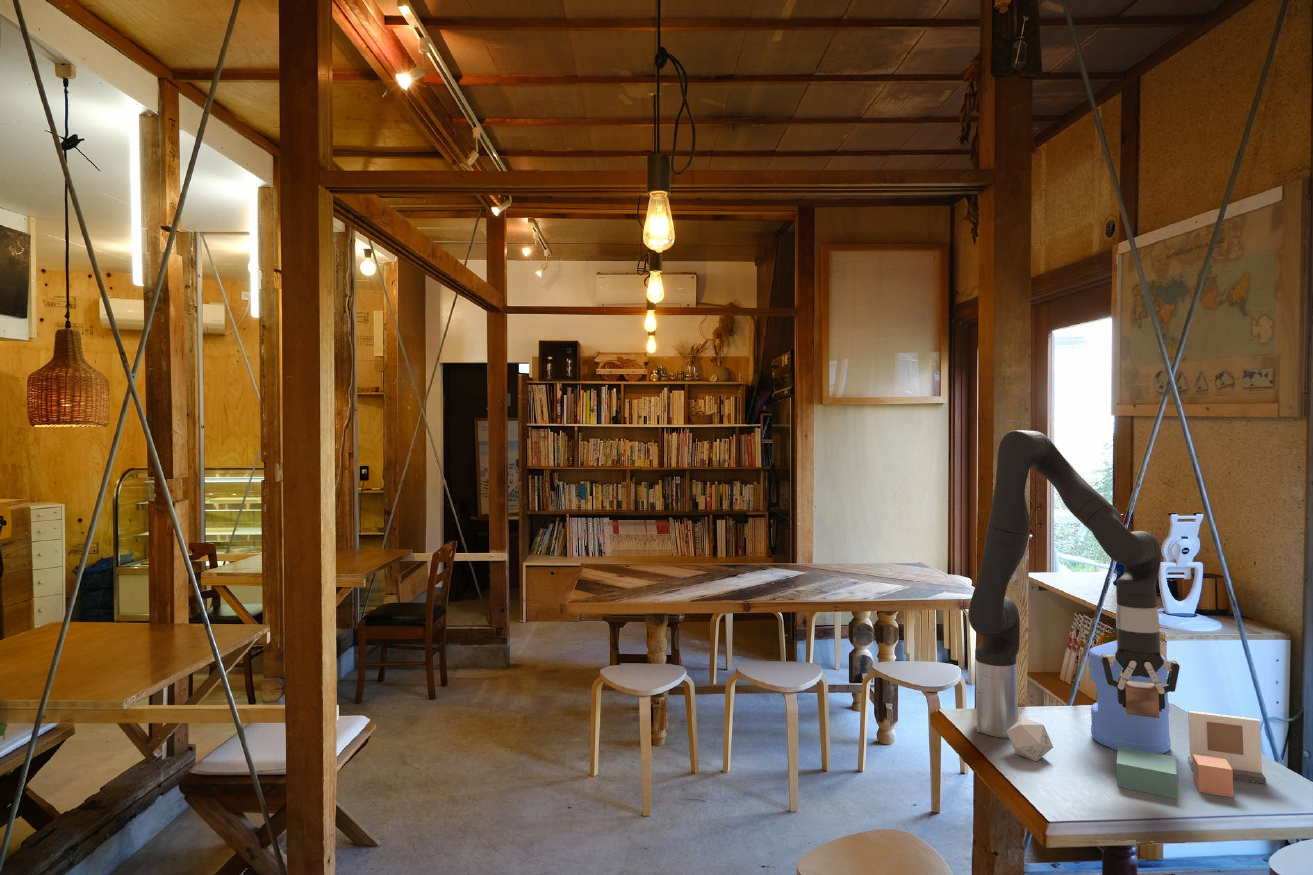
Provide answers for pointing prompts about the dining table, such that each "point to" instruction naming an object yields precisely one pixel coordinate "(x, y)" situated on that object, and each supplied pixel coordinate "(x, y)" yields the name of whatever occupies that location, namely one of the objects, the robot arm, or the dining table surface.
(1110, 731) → the water jug
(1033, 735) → the die
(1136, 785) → the base block
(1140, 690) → the walnut block
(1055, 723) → the dining table surface
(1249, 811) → the dining table surface
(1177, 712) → the dining table surface
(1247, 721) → the placard
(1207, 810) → the dining table surface
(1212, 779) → the terracotta block
